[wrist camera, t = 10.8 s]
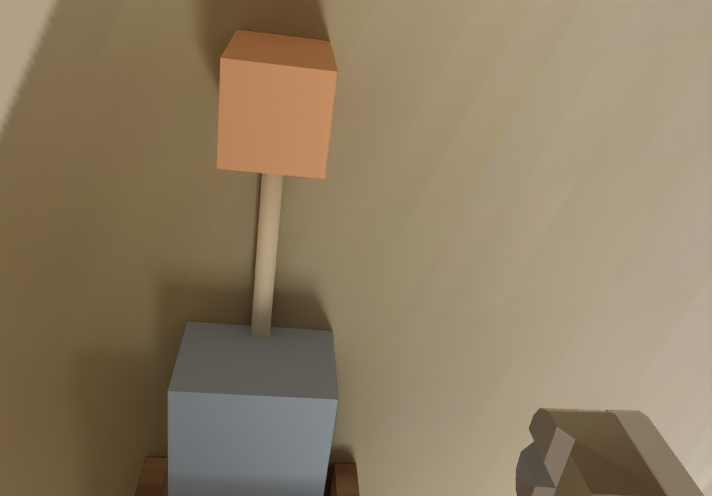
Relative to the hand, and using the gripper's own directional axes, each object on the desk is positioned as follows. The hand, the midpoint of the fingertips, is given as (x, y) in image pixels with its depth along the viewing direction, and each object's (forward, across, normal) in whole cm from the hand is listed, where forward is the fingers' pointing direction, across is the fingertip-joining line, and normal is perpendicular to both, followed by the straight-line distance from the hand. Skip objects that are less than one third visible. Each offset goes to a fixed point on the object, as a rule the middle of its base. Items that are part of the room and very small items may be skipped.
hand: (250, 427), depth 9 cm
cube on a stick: (+19, 0, -8) cm, 20 cm away
